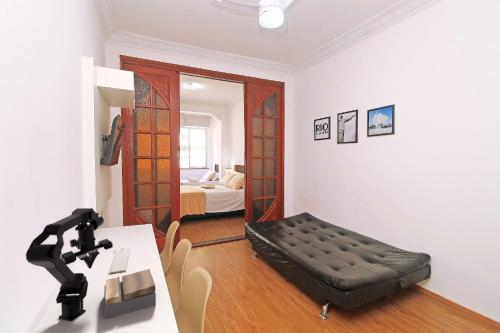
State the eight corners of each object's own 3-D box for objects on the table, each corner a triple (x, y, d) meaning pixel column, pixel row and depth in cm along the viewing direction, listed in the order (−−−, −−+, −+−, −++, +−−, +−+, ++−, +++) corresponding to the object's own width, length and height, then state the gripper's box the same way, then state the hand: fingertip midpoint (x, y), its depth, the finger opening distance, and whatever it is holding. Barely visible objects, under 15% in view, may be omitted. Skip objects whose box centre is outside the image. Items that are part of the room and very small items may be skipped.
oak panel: (105, 305, 96) (105, 298, 96) (105, 285, 111) (105, 279, 111) (121, 301, 99) (121, 295, 99) (119, 282, 114) (119, 276, 114)
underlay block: (104, 319, 96) (104, 306, 96) (104, 295, 112) (104, 285, 111) (155, 304, 105) (155, 293, 105) (149, 285, 121) (149, 275, 121)
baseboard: (104, 275, 131) (126, 272, 134) (104, 270, 131) (125, 267, 134) (112, 253, 159) (129, 251, 162) (112, 249, 158) (129, 247, 162)
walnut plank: (124, 300, 100) (123, 294, 99) (122, 281, 114) (121, 276, 114) (155, 290, 106) (155, 285, 105) (149, 273, 120) (149, 268, 120)
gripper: (101, 224, 120) (103, 253, 123) (54, 237, 105) (58, 270, 108) (112, 230, 113) (114, 261, 116) (63, 246, 99) (67, 281, 101)
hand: (89, 268), depth 111 cm, fingers closed
